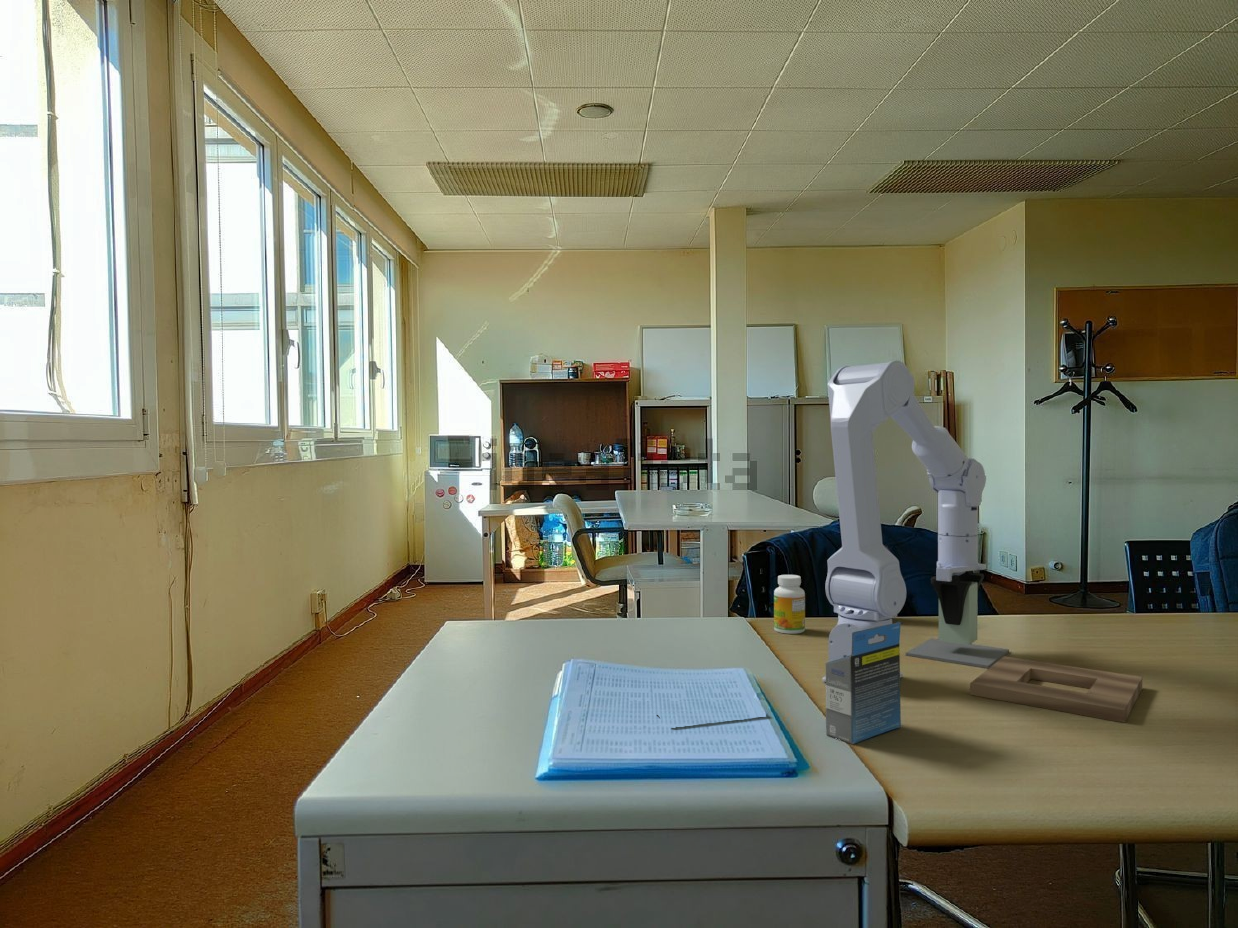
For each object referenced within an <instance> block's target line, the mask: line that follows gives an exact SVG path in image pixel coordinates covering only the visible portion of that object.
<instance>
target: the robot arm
mask: <svg viewBox="0 0 1238 928" xmlns="http://www.w3.org/2000/svg"><path fill="white" fill-rule="evenodd" d="M827 393H828V394H827V395H828V405H829V415H830V432H831V433H830V434H831V443H832V452H833V453H832V455H833V465H834V475H835V484H836V486H835V487H836V496H837V505H838V515H839V527H840V536H841V537H840V538H841V547H840V548H839V549H838V550H837V551H836V552H834V553H833V554H832V555H831V556H830V557H829V558H828V559H827V560H826V561H827V573H826V574H827V576H826V580H825V583H824V584H825V595H826V598H827V600H828V602H829V604H830V605H832V606H833V612H834V613H836V614H837V615H838V616H837V619H838V620H837V624H836V625H835V626H834V627H833V628H832V630H831V631H830V633H829V635H828V662H830V661H833V660H836V659H839V658H843V657H846V656H849V655H851V653H852V633H853V632H856V631H862V630H866V629H870V628H875V627H879V626H884V625H888V624H893V618H897V617H898V614H899V613H900V612H901V610H903V607H904V605H905V602H906V599H907V587H906V583H905V579H904V578H903V575H902V572H901V567H900V561H899V559H898V558H897V557H896V556H895V555H894V554H893V553H892V552H891V551H890V549H889V550H887V549H886V548H885V547H884V546H885V545H884V544H883V534H882V524H881V514H880V513H881V512H880V502H879V490H878V488H879V487H878V480H877V469H876V467H877V466H876V459H875V447H874V436H873V435H874V431H875V430H876V429H877V427H878V426H879V425H880V424H882V423H884V422H885V421H888V419H889V418H891V419H892V420H893V421H894V422H895V423H896V424H897V425H898V426H899V427H900V428H901V429H902V430H903V431H904V432H905V433H906V434H907V435H908V436H909V437H910V438H911V439H912V442H911V450H912V452H913V454H914V455H915V456H916V458H917V459H918V460H919V461H920V462H921V464H922V465H923V466H924V467H925V468H926V474H927V476H928V478H929V479H928V480H929V485H930V488H931V490H932V491H933V492H935V493H937V561H936V571H935V572H936V573H935V575H936V576H932V577H931V578H930V583H931V585H932V587H933V589H934V590H935V592H936V595H937V597H938V601H939V600H940V604H941V608H942V612H943V617H944V620H945V623H946V624H952V625H960V624H961V621H962V616H963V609H964V602H965V598H966V595H967V592H968V589H969V587H970V585H971V584H972V582H977V592H978V590H979V587H980V586H981V583H982V582H983V580H984V579H985V574H983V573H980V572H973V571H978V570H979V571H983V570H986V569H987V564H986V563H979V558H978V557H979V553H978V549H979V543H978V541H979V538H978V537H979V520H978V518H979V506H981V505H982V504H981V503H982V500H983V499H982V497H983V492H984V489H985V487H986V484H987V483H986V482H987V475H986V473H985V472H986V471H985V468H984V465H983V464H981V463H980V462H979V461H978V460H977V459H975V458H970V457H968V456H967V454H965V452H964V451H963V449H962V448H961V447H960V445H959V444H958V443H957V442H956V441H955V439H954V437H952V435H951V434H950V432H949V430H948V429H947V428H946V427H943V426H941V425H934V424H933V423H932V421H931V419H930V417H928V415H927V413H926V411H925V410H924V408H923V406H922V404H920V402H919V400H918V397H916V394H915V377H914V376H913V375H912V373H911V372H910V370H909V368H908V367H907V365H906V364H905V363H904V362H903V361H901V360H897V359H896V360H895V359H894V360H891V361H888V362H881V363H880V362H879V363H878V362H877V363H871V364H870V363H869V364H862V365H853V366H852V365H851V366H849V365H844V366H841V367H839V368H837V370H836V371H835V372H834V373H833V375H832V377H830V379H829V381H828V382H827ZM883 640H884V636H878V635H877V634H876V635H875V637H874V638H871V639H869V640H868V643H869V644H872V643H876V642H880V641H883ZM903 676H904V673H903V672H901V671H900V679H901V678H902V677H903ZM821 678H822V679H821V680H822V682H825V683H826V675H824V676H823V677H821Z"/></svg>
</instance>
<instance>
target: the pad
mask: <svg viewBox="0 0 1238 928" xmlns="http://www.w3.org/2000/svg"><path fill="white" fill-rule="evenodd" d="M1009 652H1010V649H1009V648H1002V647H996V646H988V645H983V644H982V645H981V644H974V643H971V644H970V645H966V644H959V643H952V642H945V641H939V638H928V639H927V640H925V641H924V642H922V643H920V644H918V645H917V646H915V647H913V648H911V649H910V650H908V651H906V652H905V656H909V657H914V658H922V659H928V660H934V661H940V662H947V663H952V664H959V665H965V666H971V667H978V668H984V669H989V668H990V667H991V666H992V665H994V664H995V663H996V662H997V661H999V660H1000V659H1001V658H1002V657H1004V656H1005V657H1006V655H1008V653H1009Z"/></svg>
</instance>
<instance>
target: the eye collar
mask: <svg viewBox="0 0 1238 928" xmlns="http://www.w3.org/2000/svg"><path fill="white" fill-rule="evenodd" d="M1030 680H1035V681H1039V682H1045V683H1046V682H1048V683H1053V684H1059V685H1065V686H1072V687H1076V688H1077V687H1079V688H1084V689H1088V691H1087V692H1082V691H1077V690H1068V689H1063V688H1057V687H1052V686H1051V687H1050V686H1047V685H1046V686H1045V685H1040V684H1034V683H1033V684H1032V683H1028V682H1029V681H1030ZM969 688H970V689H969V693H970V694H969V695H970V696H976V697H982V698H987V699H993V700H998V701H1004V702H1009V703H1015V704H1021V705H1026V706H1031V707H1036V708H1041V709H1046V710H1051V711H1052V710H1053V711H1058V712H1064V713H1069V714H1074V715H1079V716H1080V715H1081V716H1085V717H1091V718H1096V719H1101V720H1106V721H1113V722H1118V723H1123V724H1124V723H1126V721H1127V719H1128V717H1129V715H1130V714H1131V713H1130V712H1131V711H1132V709H1133V707H1134V705H1135V703H1136V701H1137V699H1138V698H1139V695H1140V694H1141V691H1142V690H1143V676H1138V675H1133V674H1131V675H1130V674H1127V673H1126V674H1124V673H1118V672H1112V671H1105V670H1100V669H1099V670H1096V669H1091V668H1084V667H1078V666H1071V665H1064V664H1058V663H1052V662H1051V663H1050V662H1045V661H1037V660H1033V659H1031V660H1030V659H1025V658H1024V659H1023V658H1018V657H1012V656H1006V655H1005V656H1003V657H1002V658H1001V659H1000V660H998V661H997V662H996V663H995V664H993V665H992V666H991V667H990V668H986V670H985V671H984V672H982V673H981V674H980V675H979V676H977V677H976V678H974V680H972V681H970V683H969Z"/></svg>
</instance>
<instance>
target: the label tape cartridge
mask: <svg viewBox="0 0 1238 928" xmlns="http://www.w3.org/2000/svg"><path fill="white" fill-rule="evenodd" d="M901 625H902V623H901V621H897V622H894V623H893V622H892V624H888V625H884V626H879V627H875V628H870V629H866V630H862V631H856V632H853V633H852V653H851V655H849V656H846V657H843V658H839V659H836V660H833V661H830V662H829V661H827V662H825V676H826V682H825V735H826V736H828V737H830V738H832V739H835V738H837V739H840V740H841V742H844V743H847V744H849V745H855V744H857V743H860V742H862V741H865V740H867V739H870V738H872V737H876V736H878V735H882V734H884V733H887V732H891V731H892V730H895V729H898V728H902V725H901V724H902V720H901V719H902V718H901V717H902V715H901V709H902V708H901V678H900V672H901V668H900V667H901V666H900V665H901V657H900V656H901V655H900V654H901V653H900V652H901V651H900V650H901V649H900V636H901V627H902V626H901ZM876 634H877V635H878V636H884V640H883V641H880V642H876V643H872V644H869V643H868V640H869V639H871V638H874V637H875V635H876ZM837 739H836V740H837ZM840 740H839V741H840Z"/></svg>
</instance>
